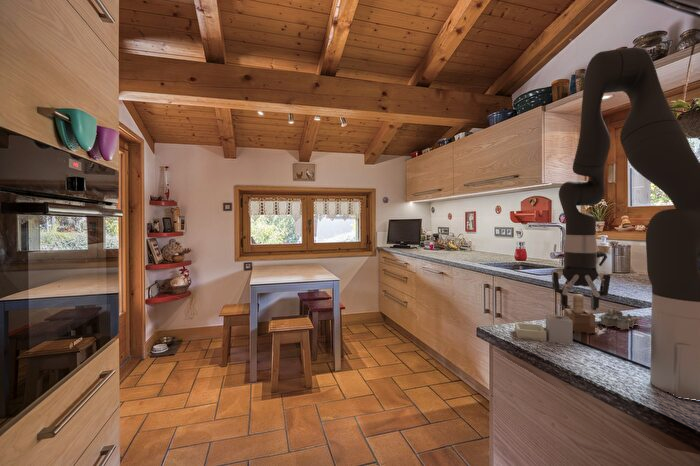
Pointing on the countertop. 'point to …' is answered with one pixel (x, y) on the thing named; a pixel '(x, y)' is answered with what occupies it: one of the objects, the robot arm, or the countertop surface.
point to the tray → (530, 331)
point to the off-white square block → (559, 329)
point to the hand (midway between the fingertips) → (579, 308)
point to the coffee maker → (599, 254)
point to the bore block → (581, 321)
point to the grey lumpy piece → (618, 319)
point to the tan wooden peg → (578, 303)
